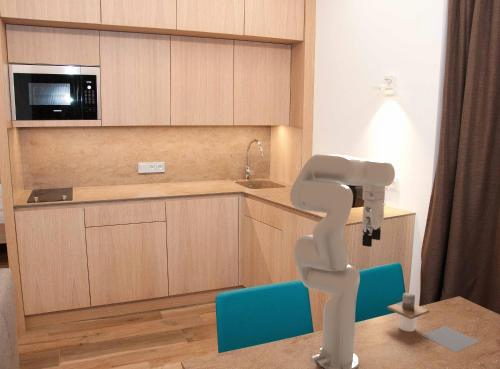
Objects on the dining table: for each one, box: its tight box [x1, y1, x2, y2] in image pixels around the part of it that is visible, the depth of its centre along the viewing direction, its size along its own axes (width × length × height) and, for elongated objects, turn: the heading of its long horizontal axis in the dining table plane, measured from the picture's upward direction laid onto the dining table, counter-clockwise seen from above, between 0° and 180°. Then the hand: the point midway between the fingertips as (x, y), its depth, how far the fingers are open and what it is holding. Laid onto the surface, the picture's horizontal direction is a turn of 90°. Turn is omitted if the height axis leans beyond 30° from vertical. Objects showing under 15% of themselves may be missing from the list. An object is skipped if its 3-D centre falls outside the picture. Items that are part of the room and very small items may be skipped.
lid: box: [386, 292, 430, 319], centre depth 161 cm, size 10×10×6 cm
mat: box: [421, 325, 480, 353], centre depth 154 cm, size 13×13×1 cm
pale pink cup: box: [397, 313, 418, 332], centre depth 162 cm, size 7×7×7 cm
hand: (371, 242), depth 162 cm, fingers open, 9 cm apart
